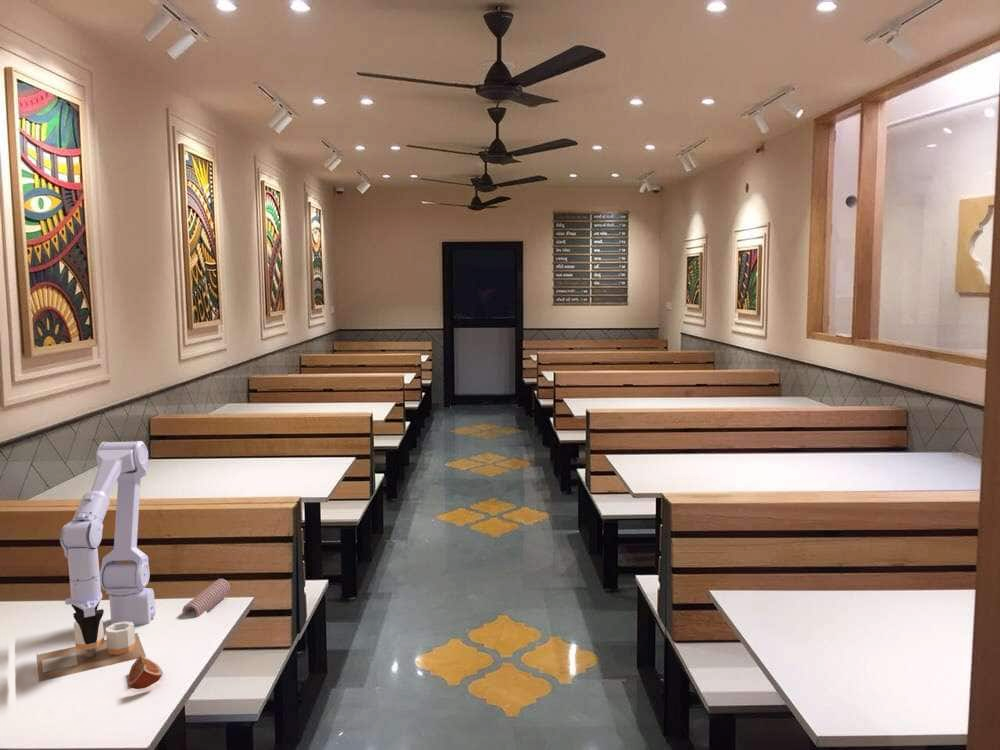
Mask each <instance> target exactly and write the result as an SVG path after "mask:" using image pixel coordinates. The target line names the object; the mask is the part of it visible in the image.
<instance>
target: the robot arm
mask: <svg viewBox="0 0 1000 750" xmlns="http://www.w3.org/2000/svg"><path fill="white" fill-rule="evenodd" d="M95 456H96V465H97V467H98V468H97V472H96V475H95V476H94V477H95V478H94V482H93V484H92V487H91V490H90V492H87V493H85V494H84V495H82V498H81V499H80V502H79V504H78V506H77V509H76V511H75V513H74V515H73V517H72V519H71V521H69V522H68V523H65V524H64V525H63V526H62V528H61V532H60V539H59V543H60V545H61V548H62V549H63V551H64V552H63V553H64V557H65V558H66V559H67V563H68V564H67V565H68V575H69V586H70V597H67V598H65V599H64V603H65V605H66V606H68V605H71V607H72V608H73V610H74V611H75V612H74V613H73V615H72V616H73V619H74V620H75V622H77V623H78V624H79V626H80V629H81V632H82V635H83V639H84V642H85V644H91V643H95V642H96V641H97V636H98V628H99V623H100V620H101V618H102V619H103V616H104V612H105V611H104V608H101V609H98V608H99V605H100V602H101V600H103V593H102V590H104V591H105V594H107V595H108V597H109V608H110V622H111V623H110V625H112V624H114V623H119V622H124V621H125V622H133V624H134V626H137V625H148V624H150V622H151V621H152V620H154V619H155V617H156V602H155V601H156V600H155V591H154V589H153V588H149V587H146V586H147V585H148V584H149V581H150V576H151V575H150V574H151V573H150V565H149V556H148V555H147V554H146V553H144V552H143V551H142V550H140V549H139V548H138V547H137V546H138V533H139V532H138V531H139V515H140V514H139V513H140V512H139V511H140V497H141V481H142V480H141V479H142V478H143V477H145V476H147V474H148V473H147V472H148V465H149V464H148V463H149V451H148V448H147V445H146V444H145V442H144V441H142V440H137V441H113V442H112V441H110V442H109V441H102V442H101V443H100V444H99V445H98V447H97V449H96V455H95ZM116 482H117V493H116V494H117V495H116V508H115V510H116V511H115V524H114V525H115V526H114V539H113V549H112V550H111V551H110V552H108V553H107V554H106V555H104V556H103V558H102V559H101V561H102V562H101V567H100V563H99V550H98V547H99V546H100V544H101V542H102V538H103V529H104V524H103V522H104V519H105V516H106V514H107V512H108V509H109V507H110V504H111V501H110V499H109V495H110V493H111V491H112V489H113V487H114V485H115V484H116ZM118 561H127V562H118ZM128 561H131V562H128ZM132 561H133V562H132Z"/></svg>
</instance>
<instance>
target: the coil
mask: <svg viewBox="0 0 1000 750" xmlns="http://www.w3.org/2000/svg"><path fill="white" fill-rule="evenodd" d="M230 590H231V586H230V583H229V582H228V581H227V580H226V579H224V578H218V579H217V580H215V581H214V582H213V583H212V584H210V585H209V586H207V588H205V589H204V590H203V591H201V592H200V593H199V594H198V595H196V596H195V597H194V598H192V599H191V600H189V602H187V603H186V604H185V605H184V606H183V608H182V613H181V614H182V615H183V616H186V615H187V614H189V612H190V613H191V611H192V610H195V612H196V617H197V618H198V617H200V616H201V615H203V614H204V613H205V612H206V613H208V612H209V611H210V610H212V609H213V608H214V607H215V606H216V605H217V604H218V603H219V602H221V601H222V600H223V599H224V598H225V597H227V595H228V594H229V593H230Z"/></svg>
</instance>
